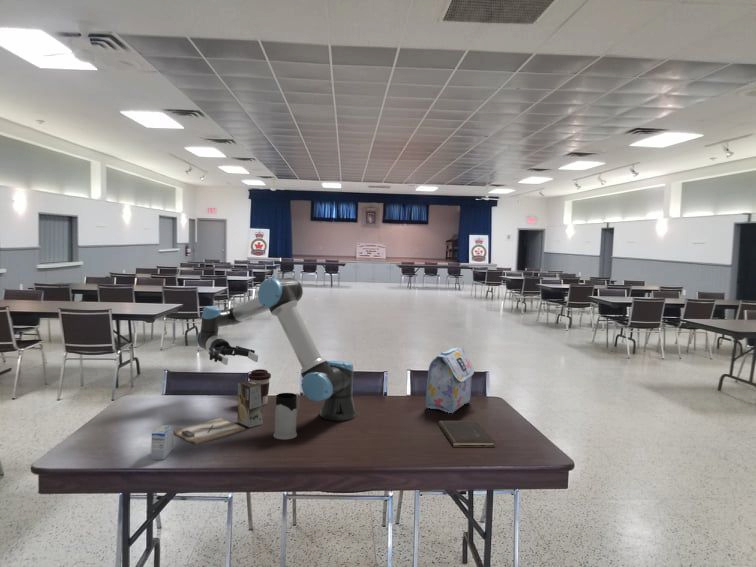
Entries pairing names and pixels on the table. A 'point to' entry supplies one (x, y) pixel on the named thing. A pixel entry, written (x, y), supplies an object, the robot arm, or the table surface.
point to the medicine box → (162, 442)
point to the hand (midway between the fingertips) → (242, 360)
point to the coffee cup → (261, 381)
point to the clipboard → (208, 430)
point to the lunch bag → (449, 381)
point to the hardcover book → (465, 433)
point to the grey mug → (286, 415)
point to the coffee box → (250, 403)
